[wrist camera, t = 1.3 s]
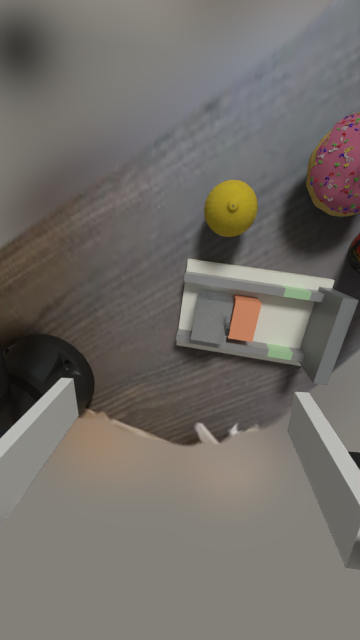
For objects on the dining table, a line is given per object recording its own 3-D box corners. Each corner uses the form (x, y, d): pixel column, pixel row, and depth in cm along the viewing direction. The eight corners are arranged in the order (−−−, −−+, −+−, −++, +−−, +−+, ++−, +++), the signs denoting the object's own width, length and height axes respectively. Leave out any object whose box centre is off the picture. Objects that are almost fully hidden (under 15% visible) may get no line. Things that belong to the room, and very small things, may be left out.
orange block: (226, 329, 34) (228, 338, 31) (234, 293, 33) (236, 299, 30) (248, 333, 34) (252, 342, 31) (257, 297, 32) (261, 303, 29)
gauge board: (177, 341, 37) (169, 365, 30) (188, 258, 33) (182, 264, 26) (302, 362, 36) (324, 392, 29) (330, 278, 32) (362, 290, 25)
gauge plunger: (193, 325, 34) (188, 347, 27) (199, 289, 33) (195, 303, 26) (223, 329, 34) (226, 354, 27) (230, 293, 32) (235, 309, 25)
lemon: (196, 218, 31) (191, 212, 24) (225, 177, 30) (230, 157, 22) (230, 246, 32) (236, 249, 24) (261, 207, 30) (277, 198, 23)
